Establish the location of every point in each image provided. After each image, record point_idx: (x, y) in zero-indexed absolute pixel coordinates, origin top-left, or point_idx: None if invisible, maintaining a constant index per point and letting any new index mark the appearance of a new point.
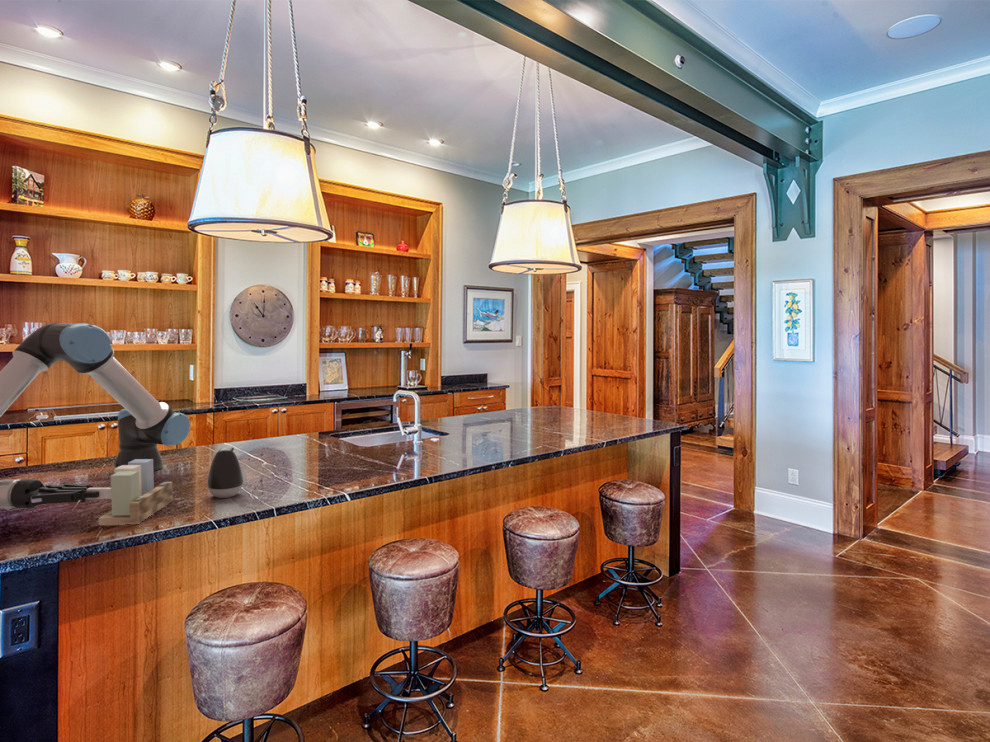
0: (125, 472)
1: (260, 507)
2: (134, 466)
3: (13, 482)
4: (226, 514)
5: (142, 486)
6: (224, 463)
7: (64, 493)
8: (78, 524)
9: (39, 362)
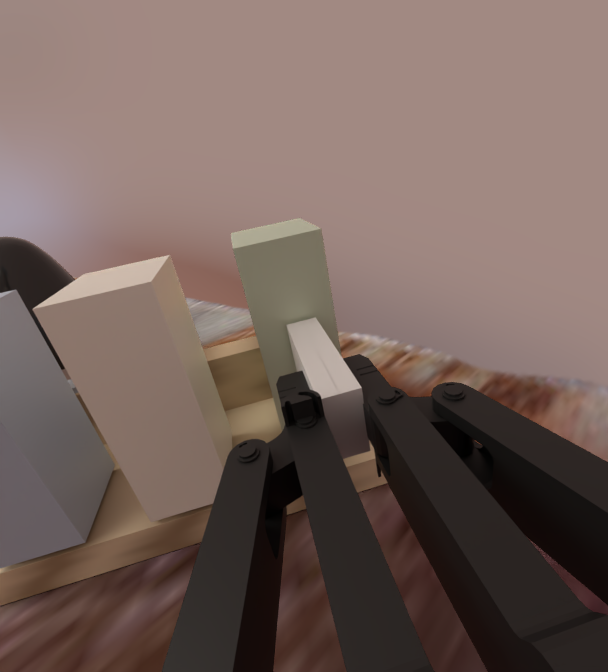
0: (251, 236)
1: (197, 310)
2: (113, 270)
3: None
4: (238, 319)
5: (78, 427)
6: (63, 269)
7: (537, 429)
8: (425, 602)
9: None
